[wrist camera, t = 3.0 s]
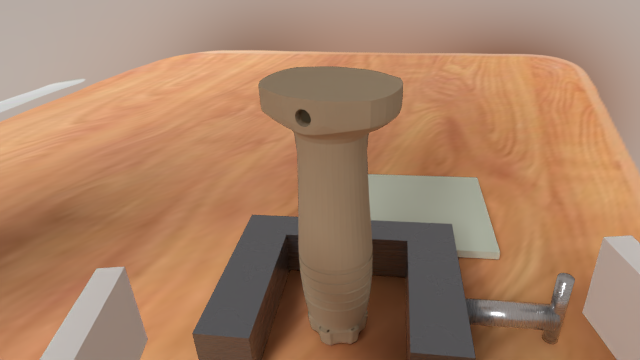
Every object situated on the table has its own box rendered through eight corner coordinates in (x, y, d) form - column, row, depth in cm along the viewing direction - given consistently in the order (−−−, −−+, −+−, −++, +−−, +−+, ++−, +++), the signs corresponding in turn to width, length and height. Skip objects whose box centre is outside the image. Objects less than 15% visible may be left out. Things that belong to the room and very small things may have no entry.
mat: (343, 250, 34) (342, 244, 34) (355, 179, 44) (355, 173, 43) (498, 259, 33) (500, 252, 32) (476, 183, 42) (477, 177, 42)
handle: (311, 287, 31) (295, 62, 24) (403, 318, 28) (417, 74, 21) (270, 337, 27) (237, 90, 20) (372, 379, 24) (375, 109, 17)
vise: (202, 373, 25) (187, 313, 23) (256, 248, 35) (249, 198, 33) (584, 411, 22) (608, 346, 20) (528, 263, 32) (540, 209, 30)
